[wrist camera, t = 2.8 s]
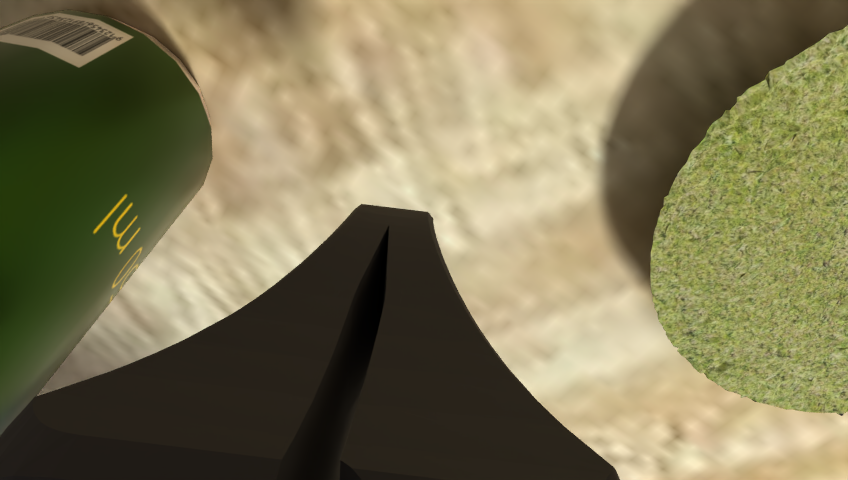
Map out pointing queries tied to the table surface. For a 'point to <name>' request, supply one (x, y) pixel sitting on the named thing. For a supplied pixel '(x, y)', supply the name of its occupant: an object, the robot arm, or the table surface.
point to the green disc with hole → (765, 240)
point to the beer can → (84, 179)
